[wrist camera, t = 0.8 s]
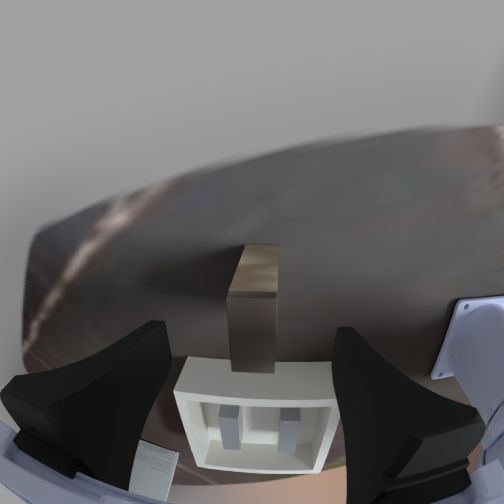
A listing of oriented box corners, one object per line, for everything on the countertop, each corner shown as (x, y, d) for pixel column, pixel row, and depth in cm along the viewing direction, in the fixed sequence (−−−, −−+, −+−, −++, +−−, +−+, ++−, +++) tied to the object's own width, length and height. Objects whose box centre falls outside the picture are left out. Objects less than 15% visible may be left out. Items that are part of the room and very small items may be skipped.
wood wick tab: (278, 244, 18) (276, 298, 11) (277, 302, 19) (274, 373, 12) (245, 244, 18) (226, 297, 11) (247, 301, 19) (231, 371, 13)
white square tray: (337, 361, 20) (345, 398, 16) (318, 441, 24) (320, 472, 20) (188, 356, 21) (173, 390, 18) (205, 436, 25) (197, 466, 21)
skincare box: (120, 447, 29) (81, 528, 15) (118, 426, 27) (71, 520, 13) (178, 469, 29) (151, 557, 15) (183, 452, 27) (151, 555, 13)
